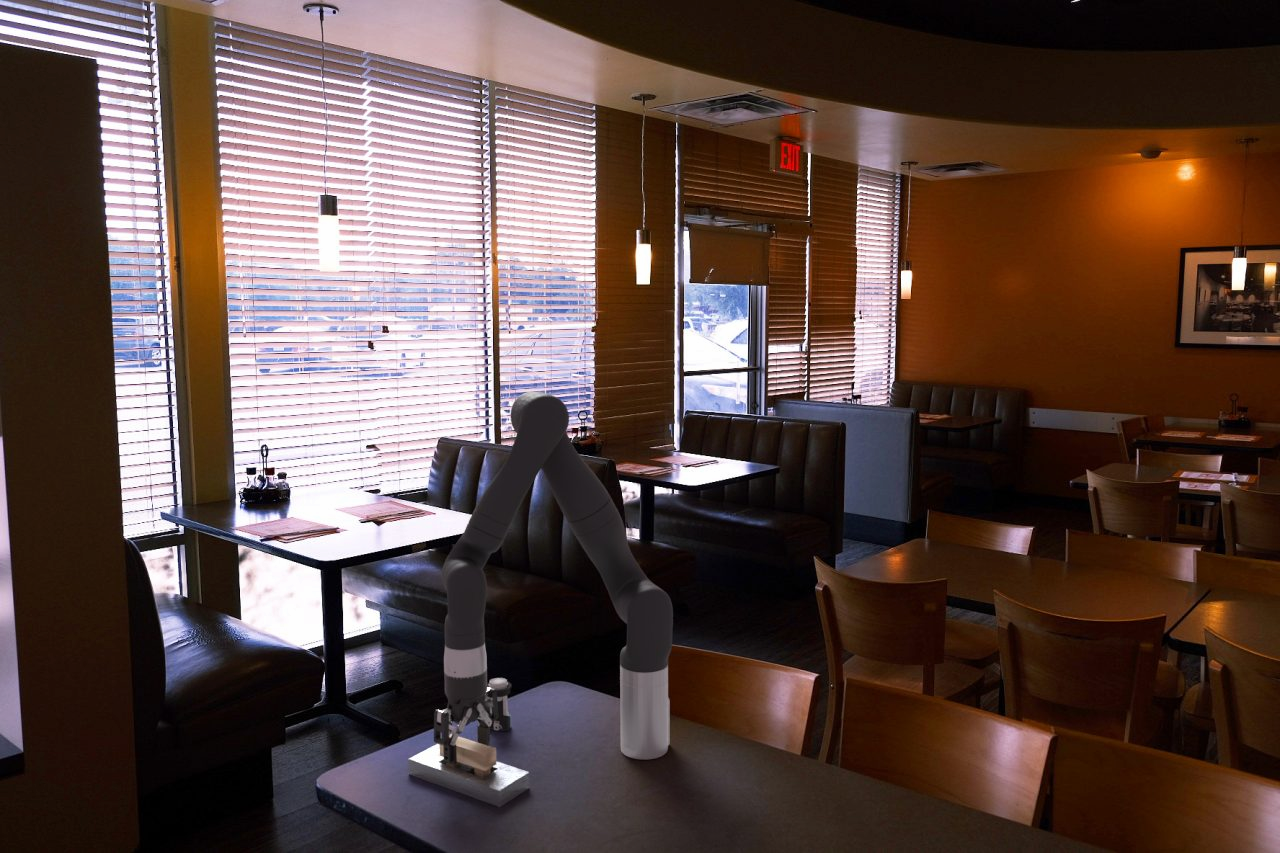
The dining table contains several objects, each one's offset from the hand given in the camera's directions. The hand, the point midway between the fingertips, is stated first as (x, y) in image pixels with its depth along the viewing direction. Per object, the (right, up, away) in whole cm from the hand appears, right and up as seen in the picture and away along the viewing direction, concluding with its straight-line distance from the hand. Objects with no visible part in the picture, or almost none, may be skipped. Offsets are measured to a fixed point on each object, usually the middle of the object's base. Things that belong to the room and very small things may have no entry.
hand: (467, 754), depth 175 cm
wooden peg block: (0, -5, +1) cm, 5 cm away
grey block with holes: (0, -5, +1) cm, 5 cm away
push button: (+2, -3, +23) cm, 23 cm away
